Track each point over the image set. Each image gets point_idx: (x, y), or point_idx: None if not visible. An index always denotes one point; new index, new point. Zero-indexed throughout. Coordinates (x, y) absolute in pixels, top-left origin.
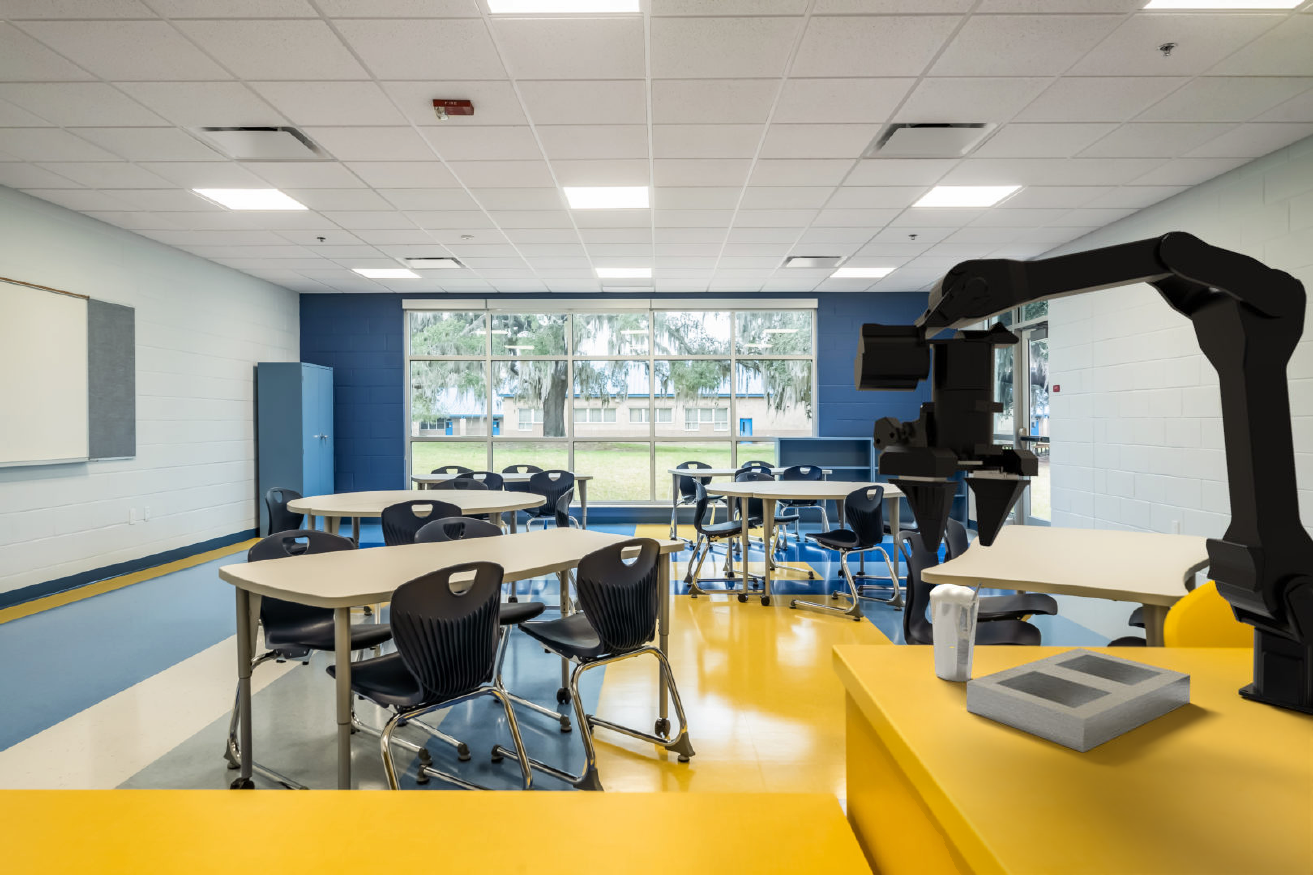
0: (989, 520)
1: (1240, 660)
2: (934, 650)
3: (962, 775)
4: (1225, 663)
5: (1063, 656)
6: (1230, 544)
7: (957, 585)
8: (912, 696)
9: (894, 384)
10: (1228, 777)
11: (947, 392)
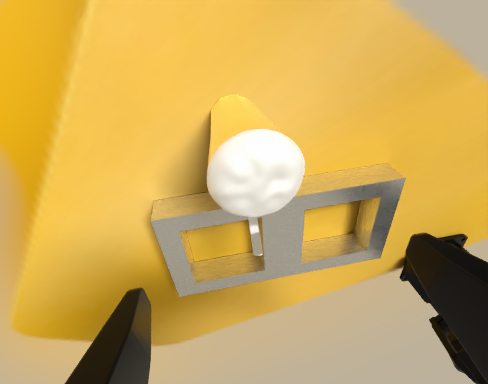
0: (472, 324)
1: None
2: (219, 109)
3: (49, 279)
4: None
5: (349, 193)
6: None
7: (288, 173)
8: (118, 151)
9: None
10: (234, 306)
11: None
